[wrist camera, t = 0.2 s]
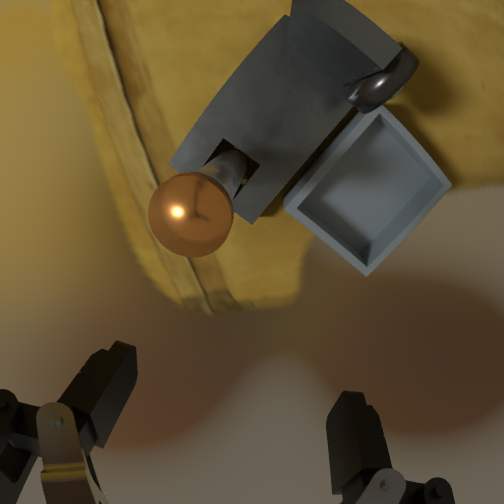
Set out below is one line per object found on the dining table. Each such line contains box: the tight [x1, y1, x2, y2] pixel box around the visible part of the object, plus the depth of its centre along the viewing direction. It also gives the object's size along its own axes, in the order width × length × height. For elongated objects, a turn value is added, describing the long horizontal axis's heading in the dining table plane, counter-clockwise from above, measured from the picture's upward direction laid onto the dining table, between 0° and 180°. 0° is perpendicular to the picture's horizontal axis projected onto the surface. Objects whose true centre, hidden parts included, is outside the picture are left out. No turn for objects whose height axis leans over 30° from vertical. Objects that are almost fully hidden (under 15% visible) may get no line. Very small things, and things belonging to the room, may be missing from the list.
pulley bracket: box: [168, 0, 419, 224], centre depth 19 cm, size 20×10×13 cm, turn 143°
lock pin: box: [148, 150, 248, 257], centre depth 21 cm, size 4×4×15 cm
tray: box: [283, 105, 452, 276], centre depth 26 cm, size 13×11×4 cm
